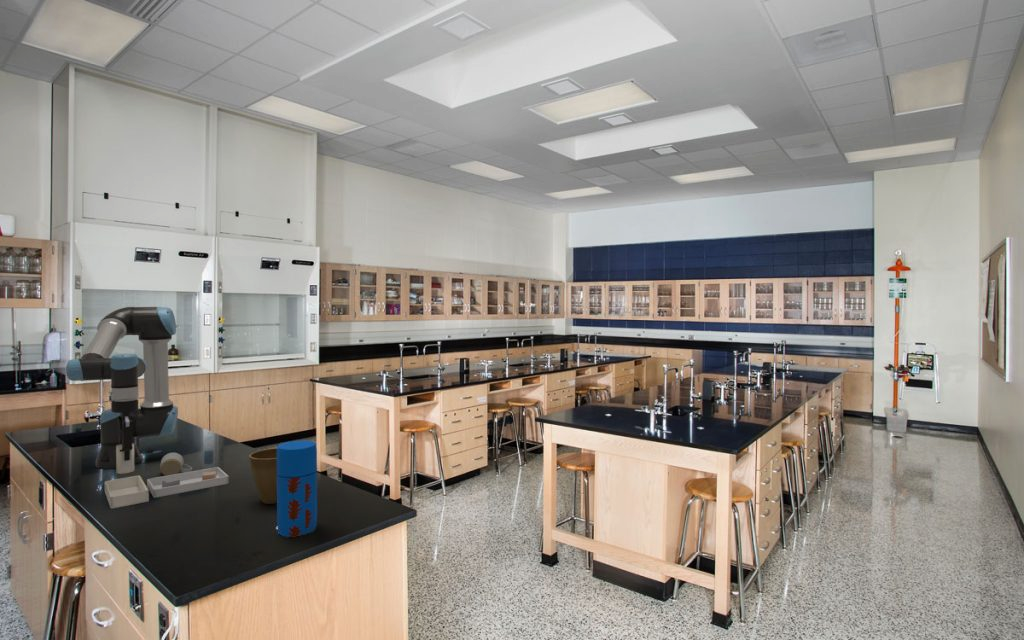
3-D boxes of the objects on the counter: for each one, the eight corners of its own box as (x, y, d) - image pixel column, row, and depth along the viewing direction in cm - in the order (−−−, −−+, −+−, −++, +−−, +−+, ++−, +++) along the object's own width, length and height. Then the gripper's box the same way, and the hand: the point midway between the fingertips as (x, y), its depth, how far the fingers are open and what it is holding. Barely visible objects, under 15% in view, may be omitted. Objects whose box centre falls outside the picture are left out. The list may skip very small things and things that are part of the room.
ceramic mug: (159, 478, 206) (159, 458, 206) (160, 472, 214) (161, 453, 213) (192, 475, 212) (192, 455, 212) (192, 469, 219) (192, 450, 219)
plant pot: (305, 500, 185) (305, 452, 184) (260, 511, 174) (259, 461, 174) (287, 489, 195) (286, 444, 195) (243, 499, 184) (242, 452, 184)
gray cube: (162, 491, 191) (162, 480, 191) (174, 488, 194) (174, 477, 194) (167, 494, 189) (167, 482, 189) (179, 491, 192) (179, 479, 192)
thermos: (284, 523, 165) (284, 440, 164) (321, 522, 166) (320, 440, 165) (271, 538, 154) (271, 450, 153) (310, 537, 155) (310, 449, 154)
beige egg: (133, 468, 189) (133, 442, 189) (135, 471, 186) (135, 445, 186) (115, 471, 186) (115, 444, 186) (117, 474, 182) (117, 447, 182)
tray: (146, 487, 197) (146, 479, 197) (218, 474, 212) (218, 466, 212) (153, 498, 185) (153, 489, 185) (228, 484, 200) (228, 476, 200)
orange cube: (204, 483, 201) (203, 472, 200) (216, 482, 202) (216, 471, 202) (202, 486, 197) (202, 475, 197) (214, 485, 198) (214, 474, 198)
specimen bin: (104, 492, 191) (104, 481, 191) (139, 486, 198) (139, 475, 198) (110, 509, 175) (110, 497, 175) (148, 502, 182) (148, 490, 182)
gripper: (108, 397, 190) (109, 464, 190) (114, 404, 176) (114, 476, 177) (134, 395, 195) (135, 460, 195) (142, 401, 181) (142, 471, 182)
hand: (125, 467), depth 186 cm, fingers closed on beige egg, 5 cm apart
